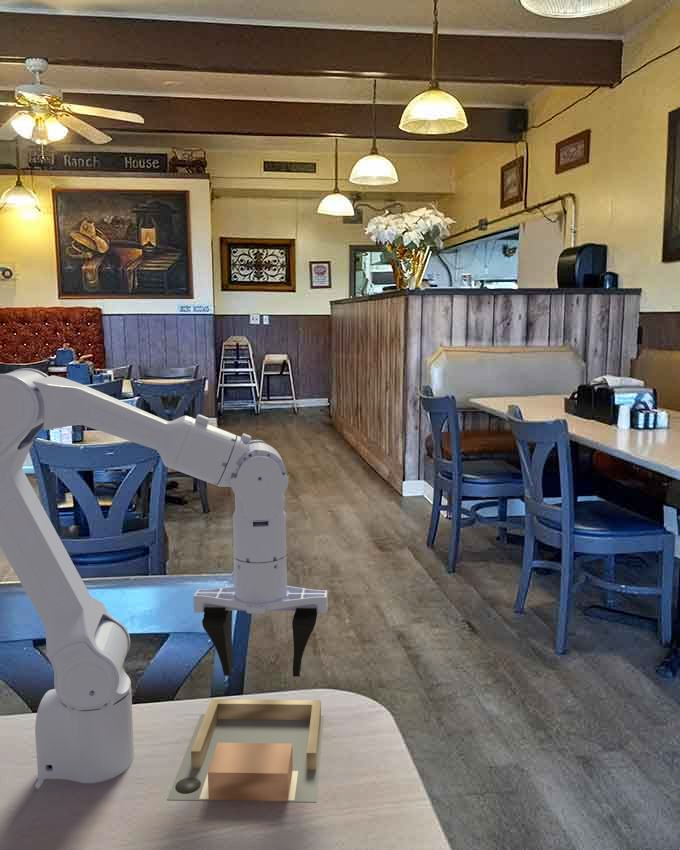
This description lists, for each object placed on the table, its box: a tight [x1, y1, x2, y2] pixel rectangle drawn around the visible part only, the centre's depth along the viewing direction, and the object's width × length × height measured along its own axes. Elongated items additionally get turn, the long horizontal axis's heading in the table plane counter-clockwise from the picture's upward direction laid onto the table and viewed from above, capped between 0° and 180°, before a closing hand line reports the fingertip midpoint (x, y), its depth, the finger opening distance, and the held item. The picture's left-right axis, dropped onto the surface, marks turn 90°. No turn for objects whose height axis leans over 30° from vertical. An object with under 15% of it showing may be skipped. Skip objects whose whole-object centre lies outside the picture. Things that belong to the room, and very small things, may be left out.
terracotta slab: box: [208, 743, 293, 802], centre depth 72 cm, size 8×5×3 cm, turn 89°
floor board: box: [166, 713, 324, 803], centre depth 78 cm, size 15×16×1 cm
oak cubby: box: [191, 698, 322, 770], centre depth 80 cm, size 13×10×2 cm
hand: (262, 671), depth 78 cm, fingers open, 7 cm apart
